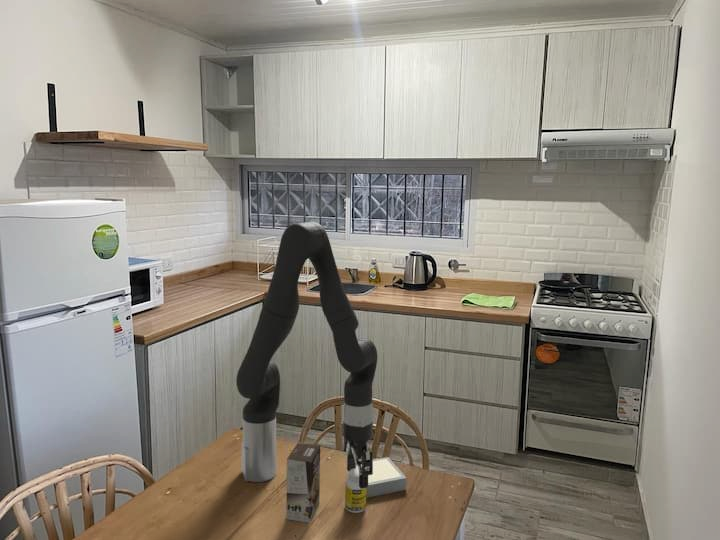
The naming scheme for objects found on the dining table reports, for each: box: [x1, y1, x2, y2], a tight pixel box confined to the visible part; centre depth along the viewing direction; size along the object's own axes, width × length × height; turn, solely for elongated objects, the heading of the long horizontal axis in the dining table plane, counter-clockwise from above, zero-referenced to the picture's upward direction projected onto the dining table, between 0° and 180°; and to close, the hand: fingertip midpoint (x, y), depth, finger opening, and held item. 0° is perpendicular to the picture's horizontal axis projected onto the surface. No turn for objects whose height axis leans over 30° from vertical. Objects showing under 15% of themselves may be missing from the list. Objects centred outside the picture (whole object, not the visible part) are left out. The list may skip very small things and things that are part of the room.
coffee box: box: [285, 442, 321, 524], centre depth 135 cm, size 9×6×16 cm
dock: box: [356, 456, 407, 499], centre depth 150 cm, size 12×12×4 cm
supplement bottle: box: [344, 468, 367, 514], centre depth 138 cm, size 5×5×10 cm
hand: (357, 478), depth 137 cm, fingers open, 8 cm apart
